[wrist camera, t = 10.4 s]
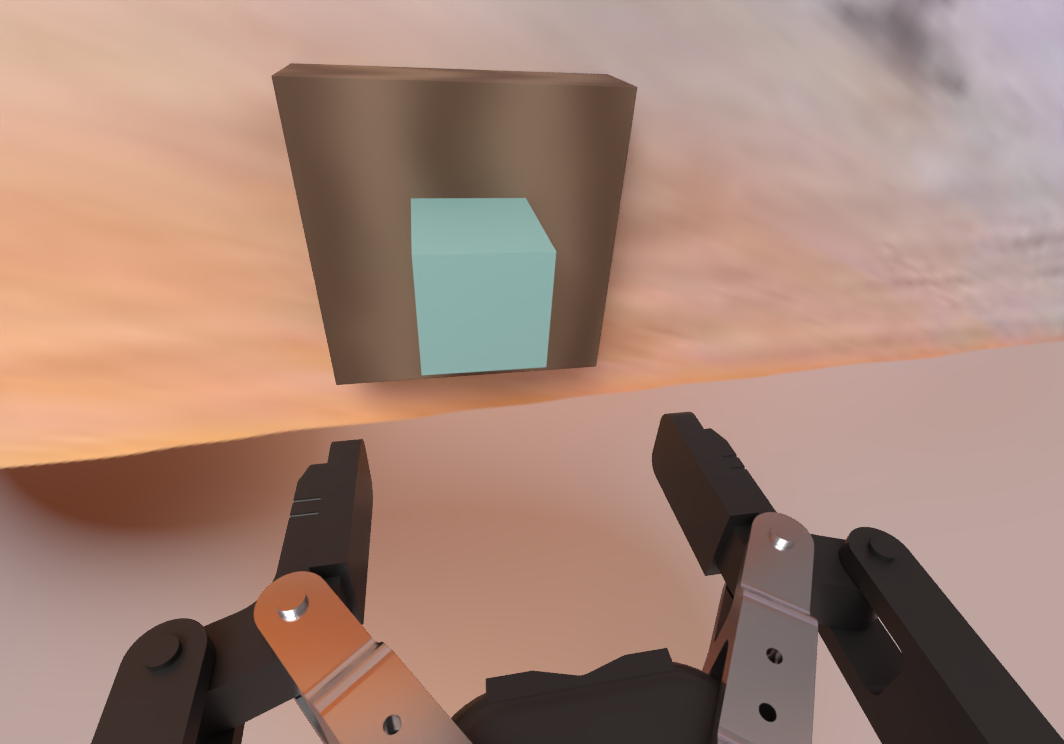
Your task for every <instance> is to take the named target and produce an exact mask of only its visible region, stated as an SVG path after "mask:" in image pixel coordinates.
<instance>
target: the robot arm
mask: <svg viewBox="0 0 1064 744" xmlns="http://www.w3.org/2000/svg"><path fill="white" fill-rule="evenodd" d="M652 465H653V470H654V473H655V475H656V478H657V480H658V482H659V484H660V486H661V488H662V490H663V492H664V494H665V496H666V498H667V500H668V502H669V504H670V506H671V508H672V510H673V512H674V514H675V516H676V518H677V520H678V522H679V524H680V526H681V528H682V530H683V532H684V534H685V536H686V538H687V540H688V542H689V544H690V546H691V548H692V550H693V552H694V554H695V556H696V558H697V560H698V562H699V564H700V566H701V568H702V570H703V572H704V574H705V576H708V575H715V574H722V576H723V578H724V580H725V584H724V587H723V590H722V594H721V598H720V603H719V607H718V612H717V616H716V621H715V626H714V630H713V634H712V638H711V643H710V647H709V651H708V654H707V658H706V661H705V663H704V666H703V669H702V671H701V670H699V669H696V668H693V667H691V666H688V665H684V664H680V663H677V662H672V659H671V657H670V655H669V652H668V649H667V648H664V649H658V650H652V651H646V652H641V653H635V654H628V655H624V656H622V657H620V658H618V659H616V660H614V661H612V662H610V663H608V664H606V665H604V666H602V667H600V668H598V669H596V670H594V671H592V672H590V673H588V674H585V675H582V676H576V675H567V674H558V673H549V672H539V671H529V672H522V673H516V674H511V675H505V676H499V677H493V678H487V679H486V693H485V694H483V695H481V696H479V697H477V698H475V699H474V700H472V701H471V702H469V703H468V704H466V705H465V706H464V707H463V708H462V709H460V710H459V711H458V712H457V713H455V714H454V716H453V717H452V718H450V717H449V716H448V715H447V713H446V712H445V711H444V710H443V709H442V707H441V706H440V705H439V704H438V703H437V702H436V700H435V699H434V698H433V697H432V696H431V695H430V693H429V692H428V691H427V690H426V689H425V688H424V686H423V685H422V684H421V683H420V682H419V680H418V679H417V678H416V677H415V676H414V675H413V673H412V672H411V671H410V670H409V669H408V668H407V666H406V665H405V664H404V663H403V662H402V661H401V659H400V658H399V657H398V656H397V655H396V654H395V652H394V651H393V650H392V649H391V648H390V647H389V646H388V645H386V644H385V643H384V642H380V643H378V642H376V641H375V640H374V639H373V638H372V637H371V636H370V634H369V633H368V632H367V631H366V630H365V628H364V627H363V626H362V625H363V622H364V610H365V609H364V608H365V597H366V583H367V571H368V557H369V545H370V544H369V543H370V532H371V520H372V507H373V491H372V481H371V475H370V470H369V465H368V460H367V454H366V449H365V444H364V441H363V439H360V440H348V441H337V442H332V444H331V447H330V452H329V458H328V463H325V464H314V465H310V466H309V467H308V469H307V470H306V472H305V473H304V474H303V476H302V477H301V478H300V479H299V481H298V483H297V487H296V492H295V496H294V503H293V505H292V509H291V513H290V518H289V521H288V526H287V530H286V534H285V539H284V543H283V547H282V551H281V556H280V560H279V565H278V569H277V573H276V576H275V578H274V580H273V582H272V583H271V584H270V585H269V586H268V587H267V588H266V589H265V590H264V591H263V592H262V594H261V595H260V596H259V598H258V600H257V601H256V602H255V603H253V604H252V605H250V606H249V607H247V608H245V609H243V610H241V611H239V612H237V613H235V614H233V615H230V616H228V617H225V618H223V619H221V620H218V621H216V622H213V623H211V624H209V625H206V626H204V627H203V626H202V625H201V624H200V623H199V622H197V621H195V620H192V619H185V618H182V619H174V620H170V621H167V622H164V623H162V624H159V625H158V626H155V627H154V628H152V629H151V630H149V631H147V632H146V633H145V634H143V635H142V636H141V637H140V638H139V639H138V640H137V641H136V642H135V643H134V644H133V645H132V646H131V647H130V648H129V650H128V651H127V653H126V654H125V656H124V657H123V660H122V662H121V664H120V667H119V670H118V672H117V675H116V678H115V680H114V683H113V686H112V688H111V691H110V694H109V697H108V699H107V702H106V705H105V707H104V710H103V713H102V715H101V718H100V721H99V724H98V727H97V729H96V732H95V734H94V737H93V740H92V743H91V744H241V742H242V736H243V730H244V724H245V722H247V721H248V720H251V719H252V718H254V717H256V716H258V715H260V714H262V713H264V712H266V711H268V710H270V709H272V708H274V707H276V706H278V705H280V704H282V703H284V702H286V701H288V700H290V699H292V698H294V700H295V701H296V703H297V704H298V706H299V707H300V709H301V710H302V712H303V713H304V715H305V716H306V718H307V719H308V721H309V722H310V724H311V725H312V727H313V729H314V730H315V731H316V733H317V735H318V736H319V737H320V739H321V741H322V742H323V744H812V732H813V714H814V695H815V678H816V677H815V676H816V659H817V642H818V632H819V634H820V636H821V637H822V639H823V641H824V643H825V644H826V646H827V648H828V650H829V651H830V653H831V655H832V657H833V658H834V660H835V662H836V664H837V666H838V667H839V669H840V671H841V673H842V674H843V676H844V678H845V680H846V681H847V683H848V685H849V687H850V688H851V690H852V692H853V694H854V695H855V697H856V699H857V701H858V702H859V704H860V706H861V708H862V709H863V711H864V713H865V715H866V716H867V718H868V720H869V721H870V723H871V725H872V727H873V729H874V731H875V732H876V734H877V736H878V738H879V739H880V741H881V742H882V744H1064V740H1063V739H1062V738H1061V737H1060V735H1059V734H1058V733H1057V732H1056V730H1055V729H1054V728H1053V727H1052V726H1051V724H1050V723H1049V722H1048V721H1047V719H1046V718H1045V717H1044V716H1043V715H1042V713H1041V712H1040V711H1039V710H1038V708H1037V707H1036V706H1035V705H1034V703H1033V702H1032V701H1031V700H1030V699H1029V697H1028V696H1027V695H1026V694H1025V692H1024V691H1023V690H1022V689H1021V687H1020V686H1019V685H1018V684H1017V683H1016V681H1015V680H1014V679H1013V678H1012V677H1011V675H1010V674H1009V673H1008V672H1007V670H1006V669H1005V668H1004V667H1003V666H1002V664H1001V663H1000V662H999V660H998V659H997V658H996V657H995V655H994V654H993V653H992V652H991V651H990V650H989V648H988V647H987V646H986V644H985V643H984V642H983V641H982V640H981V638H980V637H979V636H978V635H977V634H976V633H975V631H974V630H973V628H972V627H971V626H970V625H969V624H968V622H967V621H966V620H965V619H964V617H963V616H962V615H961V614H960V613H959V611H958V610H957V609H956V608H955V606H954V605H953V604H952V603H951V602H950V600H949V599H948V598H947V597H946V595H945V594H944V593H943V592H942V590H941V589H940V588H939V587H938V585H937V584H936V583H935V582H934V581H933V579H932V578H931V577H930V576H929V575H928V573H927V572H926V571H925V570H924V568H923V567H922V566H921V565H920V563H919V562H918V561H917V560H916V559H915V557H914V556H913V555H912V554H911V552H910V551H909V550H908V549H907V548H906V547H905V545H904V544H902V543H901V542H900V541H899V540H898V539H896V538H895V537H893V536H891V535H890V534H888V533H886V532H884V531H881V530H878V529H875V528H870V527H860V528H857V529H854V530H853V531H852V532H851V533H850V534H849V536H848V537H847V539H846V540H843V539H837V538H831V537H825V536H819V535H814V534H810V533H809V532H808V530H807V529H806V528H805V527H804V526H803V525H802V524H801V523H799V522H798V521H796V520H795V519H793V518H791V517H789V516H787V515H784V514H781V513H777V512H776V511H775V510H774V508H773V507H772V505H771V504H770V503H769V501H768V499H767V498H766V497H765V495H764V494H763V492H762V491H761V489H760V488H759V486H758V485H757V484H756V482H755V481H754V479H753V478H752V476H751V475H750V474H749V472H748V471H747V469H746V470H745V468H744V465H743V463H742V462H741V461H740V459H739V458H737V457H736V453H735V452H734V450H733V449H732V448H731V446H730V445H729V443H728V442H727V441H726V440H725V439H724V438H723V437H721V436H720V435H719V434H717V433H716V432H715V431H714V430H712V429H711V428H710V429H703V427H702V425H701V424H700V422H699V421H698V419H697V418H696V416H695V415H694V414H693V413H692V412H681V413H670V414H664V415H663V416H662V418H661V421H660V425H659V429H658V433H657V437H656V441H655V445H654V449H653V453H652ZM877 617H879V618H880V620H881V621H882V623H883V624H884V626H885V627H886V629H887V630H888V632H889V633H890V634H891V636H892V637H893V639H894V640H895V642H896V643H897V645H898V646H899V648H900V650H901V652H902V653H901V652H900V650H899V649H898V647H897V646H896V644H895V643H894V641H893V640H892V639H891V637H890V635H889V634H888V632H887V631H886V630H885V628H884V626H883V625H882V624H881V622H880V621H879V619H878V618H877Z"/></svg>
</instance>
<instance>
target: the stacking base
mask: <svg viewBox="0 0 1064 744" xmlns="http://www.w3.org/2000/svg"><path fill="white" fill-rule="evenodd" d="M272 80H273V85H274V90H275V95H276V99H277V104H278V109H279V114H280V118H281V123H282V128H283V133H284V137H285V142H286V147H287V152H288V157H289V161H290V166H291V171H292V176H293V180H294V185H295V190H296V195H297V199H298V204H299V209H300V214H301V218H302V223H303V228H304V233H305V238H306V242H307V247H308V252H309V257H310V261H311V266H312V271H313V276H314V280H315V285H316V290H317V295H318V299H319V304H320V309H321V314H322V319H323V323H324V328H325V333H326V338H327V342H328V347H329V352H330V357H331V361H332V366H333V371H334V376H335V381H336V385H342V384H356V383H370V382H384V381H398V380H412V379H426V378H440V377H454V376H468V375H482V374H496V373H510V372H524V371H538V370H552V369H566V368H580V367H594V366H596V363H597V356H598V349H599V342H600V336H601V329H602V322H603V315H604V309H605V302H606V295H607V288H608V282H609V275H610V268H611V261H612V255H613V248H614V241H615V234H616V228H617V221H618V214H619V207H620V200H621V194H622V187H623V180H624V173H625V167H626V160H627V153H628V146H629V140H630V133H631V126H632V119H633V113H634V106H635V99H636V92H637V87H636V86H633V85H631V84H629V83H626V82H624V81H622V80H619V79H617V78H615V77H612V76H610V75H607V74H578V73H550V72H521V71H492V70H464V69H435V68H406V67H377V66H349V65H320V64H289V65H288V66H286V67H285V68H283V69H282V70H280V71H279V72H277V73H275V74H274V75H272ZM411 198H526V199H527V201H528V203H529V204H530V206H531V208H532V210H533V211H534V213H535V215H536V217H537V218H538V220H539V222H540V224H541V226H542V227H543V229H544V231H545V233H546V234H547V236H548V238H549V240H550V241H551V243H552V245H553V247H554V248H555V250H556V261H555V273H554V284H553V296H552V307H551V319H550V330H549V342H548V353H547V365H546V367H542V368H527V369H512V370H496V371H481V372H466V373H451V374H436V375H422V374H421V361H420V349H419V337H418V325H417V313H416V301H415V289H414V277H413V265H412V244H411Z"/></svg>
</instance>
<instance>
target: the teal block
mask: <svg viewBox="0 0 1064 744" xmlns="http://www.w3.org/2000/svg"><path fill="white" fill-rule="evenodd" d="M411 244H412V265H413V277H414V289H415V301H416V313H417V325H418V337H419V349H420V361H421V374H422V375H436V374H451V373H466V372H481V371H496V370H512V369H527V368H542V367H546V365H547V353H548V342H549V330H550V319H551V307H552V296H553V284H554V273H555V261H556V250H555V248H554V247H553V245H552V243H551V241H550V240H549V238H548V236H547V234H546V233H545V231H544V229H543V227H542V226H541V224H540V222H539V220H538V218H537V217H536V215H535V213H534V211H533V210H532V208H531V206H530V204H529V203H528V201H527V199H526V198H411Z"/></svg>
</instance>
